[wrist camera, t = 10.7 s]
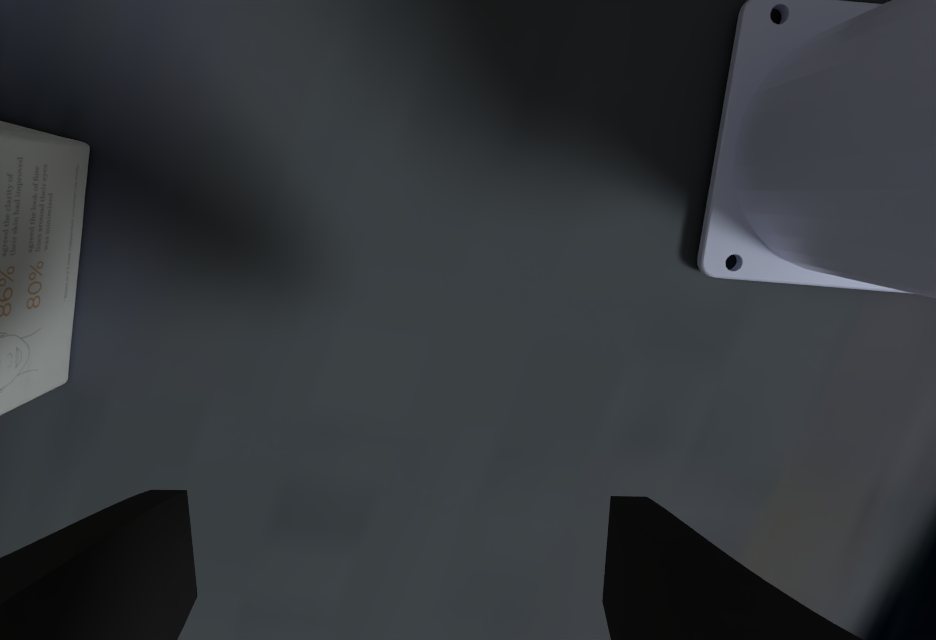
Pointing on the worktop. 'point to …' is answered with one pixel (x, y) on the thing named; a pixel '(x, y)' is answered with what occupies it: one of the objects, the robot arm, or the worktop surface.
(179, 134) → the worktop surface
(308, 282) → the worktop surface
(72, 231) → the small box
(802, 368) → the worktop surface
